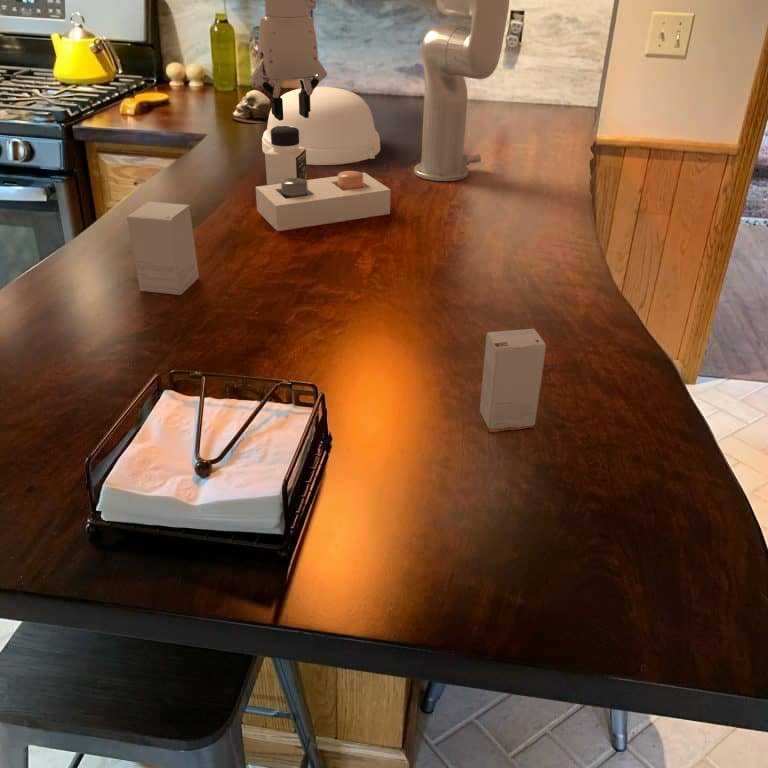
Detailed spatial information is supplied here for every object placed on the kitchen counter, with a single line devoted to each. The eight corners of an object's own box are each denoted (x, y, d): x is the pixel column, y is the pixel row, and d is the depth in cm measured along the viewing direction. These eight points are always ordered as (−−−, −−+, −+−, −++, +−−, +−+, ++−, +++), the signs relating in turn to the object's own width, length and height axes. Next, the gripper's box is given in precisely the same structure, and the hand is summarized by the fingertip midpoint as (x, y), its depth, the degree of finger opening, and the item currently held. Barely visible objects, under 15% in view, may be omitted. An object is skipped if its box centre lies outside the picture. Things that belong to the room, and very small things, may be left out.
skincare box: (523, 410, 97) (535, 325, 90) (535, 431, 93) (549, 344, 86) (476, 414, 96) (485, 329, 89) (486, 435, 92) (497, 348, 85)
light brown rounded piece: (356, 188, 159) (356, 169, 156) (367, 196, 155) (367, 176, 153) (334, 192, 157) (334, 172, 154) (344, 199, 153) (344, 179, 151)
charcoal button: (302, 196, 154) (301, 176, 152) (311, 204, 150) (311, 184, 148) (278, 199, 152) (277, 179, 150) (287, 207, 148) (286, 187, 146)
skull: (225, 120, 212) (229, 85, 214) (236, 138, 222) (240, 105, 224) (267, 120, 211) (271, 86, 212) (276, 139, 221) (280, 106, 222)
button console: (364, 195, 164) (364, 172, 161) (389, 213, 155) (390, 189, 152) (257, 211, 155) (255, 186, 152) (277, 231, 146) (276, 205, 143)
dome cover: (405, 145, 199) (407, 88, 191) (339, 174, 177) (338, 111, 170) (307, 126, 213) (305, 72, 205) (234, 151, 191) (229, 92, 184)
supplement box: (200, 277, 128) (191, 204, 121) (180, 296, 122) (170, 220, 115) (159, 272, 129) (148, 199, 122) (138, 291, 123) (125, 215, 116)
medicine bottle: (297, 188, 167) (295, 132, 161) (266, 185, 168) (263, 130, 162) (307, 178, 173) (305, 124, 167) (276, 176, 174) (273, 122, 168)
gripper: (323, 4, 139) (325, 109, 148) (233, 8, 132) (241, 117, 142) (340, 9, 133) (341, 118, 143) (246, 13, 127) (254, 126, 136)
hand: (291, 116), depth 142 cm, fingers open, 4 cm apart
